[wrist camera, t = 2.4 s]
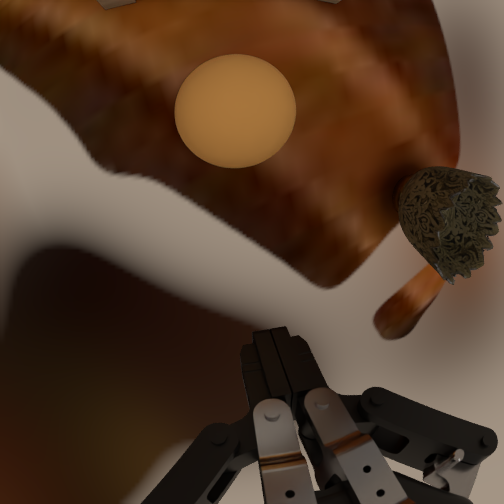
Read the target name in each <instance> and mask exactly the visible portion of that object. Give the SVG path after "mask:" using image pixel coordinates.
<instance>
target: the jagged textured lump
mask: <svg viewBox="0 0 504 504" xmlns="http://www.w3.org/2000/svg"><path fill="white" fill-rule="evenodd" d="M499 189H500V187H499V186H498V185H497V184H496V183H495V182H493V181H492V178H491V177H489V176H484V175H480V174H476V173H472V172H468V171H463V170H459V169H454V168H449V167H440V166H437V167H428V168H425V169H422V170H420V171H418V172H417V173H415V174H412V175H407V176H405V177H403V178H401V179H400V180H399V181H398V183H397V184H396V186H395V188H394V191H393V205H394V207H395V209H396V211H397V213H398V214H399V221H400V225H401V227H402V230H403V232H404V234H405V236H406V237H407V239H408V240H409V242H411V244H412V245H413V247H414V248H415V249H416V250H417V251H418V252H419V253H420V254H421V255H422V256H423V257H424V258H425V259H426V260H427V262H428V263H429V264H430V265H431V266H432V267H433V268H434V269H435V270H436V271H437V272H438V273H439V274H440V276H441V277H442V278H443V280H445V279H446V280H447V281H448V282H449V283H450V284H452V285H454V281H455V280H454V279H453V276H454V277H455V275H456V274H460V275H462V276H463V277H464V278H470V277H471V271H470V270H476V269H478V268H480V267H481V266H483V265H484V255H483V252H484V250H483V249H487V250H490V249H492V248H493V244H492V243H491V241H490V240H488V239H489V238H488V236H487V237H486V235H489V236H494V235H496V234H497V233H498V232H499V229H498V225H497V222H501V221H502V220H501V218H500V216H499V214H498V213H497V209H496V208H494V206H497V205H500V204H502V202H501V201H500V200H499V199H498V198H497V197H496V195H497V193H498V190H499Z"/></svg>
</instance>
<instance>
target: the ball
mask: <svg viewBox="0 0 504 504" xmlns="http://www.w3.org/2000/svg"><path fill="white" fill-rule="evenodd" d="M295 118H296V102H295V98H294V94H293V91H292V89H291V87H290V85H289V83H288V81H287V80H286V78H285V77H284V76H283V75H282V74H281V73H280V71H279V70H277V69H276V68H275V67H274V66H273V65H271V64H269V63H268V62H266V61H264V60H262V59H260V58H257V57H254V56H250V55H244V54H230V55H223V56H219V57H216V58H213V59H210V60H208V61H206V62H204V63H203V64H201V65H200V66H198V67H197V68H196V69H195V70H193V71H192V72H191V73H190V74H189V76H188V77H187V78H186V79H185V81H184V82H183V84H182V85H181V87H180V90H179V92H178V95H177V98H176V102H175V121H176V126H177V129H178V132H179V134H180V136H181V138H182V140H183V142H184V143H185V145H186V146H187V147H188V148H189V149H190V150H191V151H192V152H193V153H194V154H195V155H196V156H198V157H199V158H201V159H202V160H204V161H206V162H208V163H210V164H213V165H216V166H220V167H225V168H243V167H249V166H253V165H256V164H258V163H261V162H263V161H265V160H267V159H269V158H270V157H271V156H273V155H274V154H275V153H277V152H278V151H279V150H280V149H281V148H282V146H283V145H284V144H285V143H286V141H287V140H288V138H289V136H290V134H291V132H292V130H293V126H294V123H295Z"/></svg>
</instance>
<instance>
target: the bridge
mask: <svg viewBox="0 0 504 504" xmlns="http://www.w3.org/2000/svg"><path fill="white" fill-rule="evenodd" d="M97 1H98V2H99V3H100V5H101V6H102V7H103V8H104V9H105V10H107V9H110V8H114V7H118V6H122V5H126V4H131V3H135V2H136V0H97ZM320 1H325V2H330V3H335V4H336V3H338V2H339V1H341V0H320Z"/></svg>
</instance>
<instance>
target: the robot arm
mask: <svg viewBox="0 0 504 504" xmlns="http://www.w3.org/2000/svg"><path fill="white" fill-rule="evenodd" d="M252 341H253V344H246V345H243V346H242V349H241V353H240V359H241V369H242V376H243V381H244V385H245V390H246V395H247V399H248V403H249V408H250V410H249V412H248V413H247V415H246V416H245V417H244V418H242V419H241V420H239V421H237V422H235V423H232V424H230V425H228V424H225V423H213V424H210V425H208V426H206V427H205V428H204V429H203V430H202V431H201V433H200V434H199V435H198V436H197V438H196V439H195V440H194V441H193V443H192V444H191V445H190V446H189V448H188V449H187V450H186V451H185V453H184V454H183V455H182V456H181V458H180V459H179V460H178V461H177V463H176V464H175V465H174V466H173V467H172V468H171V470H170V471H169V472H168V473H167V474H166V475H165V477H164V478H163V479H162V480H161V481H160V483H159V484H158V485H157V486H156V487H155V488H154V489H153V490H152V492H151V493H150V494H149V495H148V496H147V497H146V499H144V501H143V502H142V503H141V504H218V503H219V501H220V500H221V498H222V497H223V496H224V494H225V493H226V491H227V490H228V489H229V487H230V486H231V484H232V483H233V481H234V480H235V478H236V477H237V475H238V474H239V473H240V471H241V469H242V468H244V467H246V466H248V465H250V464H252V463H254V462H256V461H258V464H259V470H260V477H261V484H262V491H263V498H264V504H473V503H472V502H471V501H470V500H469V499H468V498H469V495H470V493H471V490H472V487H473V485H474V481H475V479H476V476H477V473H478V469H479V467H480V464H481V462H482V461H483V460H484V459H486V458H487V457H488V456H490V455H491V454H492V453H493V452H494V451H495V450H496V448H497V444H498V440H497V435H496V433H495V432H494V431H493V430H492V429H490V428H487V427H484V426H481V425H478V424H475V423H471V422H469V421H466V420H463V419H460V418H457V417H454V416H451V415H449V414H446V413H443V412H441V411H438V410H435V409H433V408H430V407H428V406H425V405H423V404H420V403H418V402H415V401H413V400H410V399H408V398H405V397H403V396H400V395H398V394H396V393H393V392H391V391H389V390H386V389H384V388H381V387H372V388H369V389H367V390H365V391H364V392H363V394H362V395H341V394H337V393H336V392H334V391H333V390H331V389H330V388H329V387H328V386H327V383H326V381H325V379H324V377H323V375H322V373H321V371H320V369H319V367H318V364H317V363H316V360H315V359H314V356H313V354H312V353H311V350H310V348H309V345H308V344H307V342H306V341H305V340H304V339H303V338H301V337H300V336H299V335H297V336H292V337H290V334H289V332H288V330H287V327H286V326H284V327H278V328H272V329H267V330H261V331H254V332H252ZM293 420H296V421H297V424H298V427H299V428H298V435H299V438H300V440H301V442H302V444H303V446H304V449H305V451H306V453H307V455H308V458H309V460H310V462H311V464H312V466H313V469H314V472H315V479H316V482H317V485H318V486H319V489H320V491H314V489H313V485H312V481H311V477H310V473H309V469H308V465H307V462H306V459H305V457H304V456H303V455H302V453H301V450H300V446H299V442H298V438H297V434H296V430H295V425H294V422H293ZM383 456H385V457H388V458H390V459H392V460H395V461H397V462H399V463H402V464H405V465H407V466H410V467H412V468H415V469H418V470H421V471H423V481H424V482H426V483H428V484H430V485H428V484H426V483H423V482H420V481H417V480H415V479H413V478H411V477H408V476H406V475H403V474H401V473H398V472H395V471H392V470H391V468H390V467H389V465H388V463H387V462H386V460H385V458H384V457H383ZM431 485H432V486H431Z"/></svg>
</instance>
